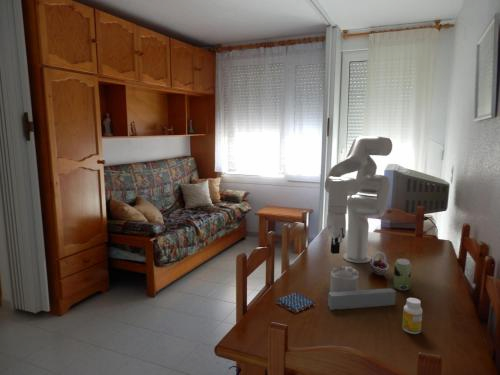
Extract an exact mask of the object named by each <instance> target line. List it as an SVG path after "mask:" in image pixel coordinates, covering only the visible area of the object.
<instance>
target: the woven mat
mask: <svg viewBox="0 0 500 375" xmlns="http://www.w3.org/2000/svg"><path fill="white" fill-rule="evenodd" d="M275 302H276V304H277V305H279V306H280V307H281V308H285V309H286V310H287V311H289V310H290V312H291V311H292V313H293V312H295V313H300V312H299V311H301V310H303V311H305V310H306V308H308V307H309V308H308V309H310V308H311V307H310V306H312V305H313V306H312V307H315V306H316V302H315V301H314V300H313V299H311V298H307V296H304V295H301V293H298V292H295V293H294V292H293V293H291V294H289V295H285V296H283V297H280V298H277V299H276V301H275ZM304 309H305V310H304Z"/></svg>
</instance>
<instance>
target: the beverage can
mask: <svg viewBox="0 0 500 375" xmlns="http://www.w3.org/2000/svg"><path fill="white" fill-rule="evenodd" d="M393 267H394V269H393V270H394V271H393V287H394V288H395V289H396V290H399V291H403V292H405V291H407V290H409V289H410V288H411V279H412V278H411V277H412V263H411V262H410V260H409V259H407V258H397V259H396V261H395V262H394V266H393Z"/></svg>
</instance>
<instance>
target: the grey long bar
mask: <svg viewBox="0 0 500 375" xmlns="http://www.w3.org/2000/svg"><path fill="white" fill-rule="evenodd" d="M327 294H328V295H327V307H328V306H329V307H328V309H329V310H330V311H333V310H335V309H337V310H346V309H348V308H349V309H358V308H360V309H361V308H373V307H384V306H385V307H386V306H395V305H396V296H397V295H396V294H397V291H396V290H394V289H393V288H392V287H390V288H375V289H373V288H372V289H361V290H360V289H358V291H343V292H330V291H329V292H327Z"/></svg>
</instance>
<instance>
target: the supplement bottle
mask: <svg viewBox="0 0 500 375" xmlns="http://www.w3.org/2000/svg"><path fill="white" fill-rule="evenodd" d="M405 303H406V304H405V305H404V306H403V314H402V325H401V327H402V330H403V331H405V332H406V333H408V334H412V335H417V334H419V333H421V332H422V322H423V309H422V307H421V300H420V299H418V298H416V297H408V298H406V302H405Z"/></svg>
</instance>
